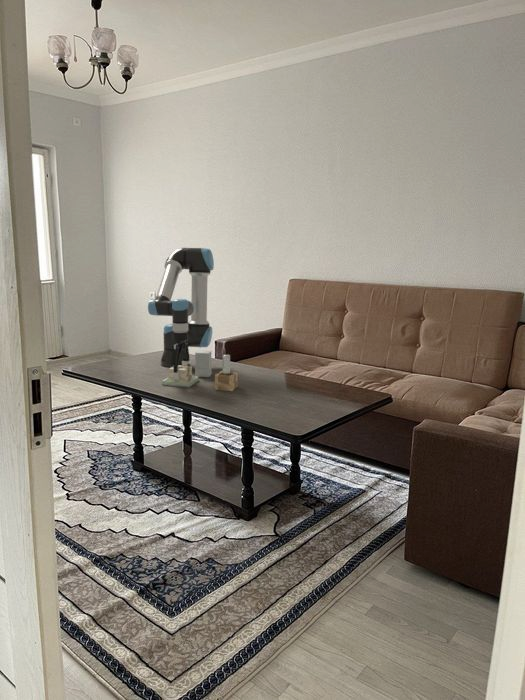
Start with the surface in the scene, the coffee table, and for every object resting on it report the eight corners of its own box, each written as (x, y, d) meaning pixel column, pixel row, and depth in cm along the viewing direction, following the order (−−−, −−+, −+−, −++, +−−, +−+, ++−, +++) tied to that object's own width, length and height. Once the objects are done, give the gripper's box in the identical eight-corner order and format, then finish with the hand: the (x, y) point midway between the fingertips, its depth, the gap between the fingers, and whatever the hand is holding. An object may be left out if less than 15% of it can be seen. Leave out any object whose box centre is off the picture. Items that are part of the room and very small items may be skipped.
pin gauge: (223, 386, 260) (223, 354, 257) (230, 387, 260) (230, 354, 256) (221, 388, 257) (221, 355, 254) (228, 389, 256) (228, 356, 253)
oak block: (220, 385, 263) (220, 371, 262) (237, 386, 261) (237, 372, 260) (214, 389, 255) (215, 375, 254) (232, 391, 253) (232, 376, 252)
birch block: (175, 378, 271) (175, 365, 270) (191, 380, 269) (191, 366, 268) (168, 382, 263) (168, 368, 262) (185, 384, 261) (185, 370, 260)
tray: (173, 378, 274) (173, 374, 274) (198, 380, 271) (198, 376, 270) (161, 384, 261) (161, 380, 261) (188, 387, 258) (188, 383, 258)
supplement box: (211, 374, 285) (211, 350, 283) (209, 377, 278) (209, 353, 275) (198, 373, 286) (198, 349, 283) (194, 376, 279) (194, 352, 276)
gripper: (182, 327, 273) (182, 370, 277) (163, 334, 251) (163, 381, 256) (196, 328, 271) (196, 371, 275) (178, 335, 249) (178, 382, 254)
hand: (180, 376), depth 265 cm, fingers open, 10 cm apart
